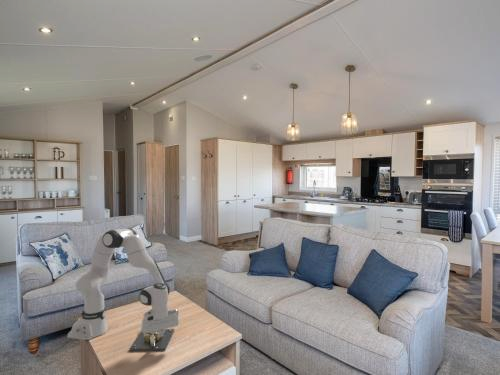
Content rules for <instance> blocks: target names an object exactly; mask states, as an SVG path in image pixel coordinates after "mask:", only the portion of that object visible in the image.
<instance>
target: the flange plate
mask: <svg viewBox="0 0 500 375" xmlns="http://www.w3.org/2000/svg"><path fill="white" fill-rule="evenodd" d="M161 331H162V330H161ZM149 333H150V336H151V335H155V336H156V331H154V332H149ZM174 333H175V329H174V328H166V329H165V332H164V334H163V337H162V338H161V339H160V340H158V341H156V342H155V346H153V347H151V346H150V342H149V343H148V342H145V341H144V334H143V333H142V330H141V331H140V333H139V334H138V335H137V337H136V338H135V340H134V341H133V342H132V344H131V346H130V347H129V352H140V351H141V352H143V351H144V352H146V351H148V352H149V351H153V352H154V351H155V352H157V351H166V350H167V348H168V346H169V344H170V342H171V339H172V337H173V335H174Z"/></svg>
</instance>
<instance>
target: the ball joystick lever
mask: <svg viewBox="0 0 500 375" xmlns="http://www.w3.org/2000/svg"><path fill="white" fill-rule="evenodd" d="M161 332H162V331H161V330H159V332H158V333H161ZM161 338H162V337H159V338H158V334H157V333H156V336H155V335H151V336H150V333H145V334H144V341H145V342H148V343H149V342H150V346H151V347H153V346H155V342H156V341H158V340H160V339H161Z"/></svg>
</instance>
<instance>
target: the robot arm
mask: <svg viewBox="0 0 500 375" xmlns="http://www.w3.org/2000/svg"><path fill="white" fill-rule="evenodd" d="M115 248H116V249H119V248H123V249H124V250H125V254H126V256H127V259H128V260H127V261H128V263H129V265H130V266H132V267H133V268H137V269H144V270H147V271H148V272H150V274H151V277H152V279H153V281H154V284H152V285H150V286H148V287H145V288H142V289H141V290H140V292H139V295H138V296H139V302H140V303H141V304H142V305H143V306H148V307H150V306H151V309H150V310H147V311H145V312H144V313H143V319H142V320H141V331H142V333H143V334H145V333H149V332H154V331H156V333H157V334H158V338H159V337H163V334H164V332H165V329H171V328H173V327H174V328H175V327H178V326H179V323H180V322H179V313H180V312H179V310H178V309H170V310H169V304H168V302H169V294H170V291H171V289H170V286H169V284H168V282H167V281H166V280H165V278H164V275H163V274H162V272H161V269H160V267H159V265H158V263H157V262H156V260H155V259H154V258H153V257H152V256H150V255H149V253H148V251H147V249H146V246H145V243H144V241H143V239H142V238H141V236H140V235H139V234H137V232H136V231H135V229H133V228H116V229H110V230H108V231H107V232H104V234H102V235H101V236H100V237H99V238H98V240H97V242H96V244H95V247H94V249H93V252H92V255H91V257H90V261H89V262H90V263H91V267H90V268H91V269H90V270H89V271H88V272H86V273H85V274H83V275H82V276H81V277H80V278H79V279H78V280H77V281H76V283H75V288H76V290H77V292H78V293H80V294H81V295H82V297H83V303H84V310H83V311H82V312H81V313H80V318H79V319H77V321H75V322H74V323H73V324H72V327H71V330H70V331H69V332H68V333H67V334H66V336H67V337H66V338H67V339H74V340H75V339H76V340H84V341H85V340H87V341H89V340H91V339H94V338H95V337H97V338H98V337H99V336H102V335H104V334H105V333H107V331H109V327H108V324H107V321H106V313H107V312H106V307H105V296H104V294H103V293H102V292H101V290H100V287H101V286H102V285H103V284H104V283H105V282H107V281H108V278H109V277H110V270H109V268H110V263H111V260H112V257H113V256H114V255H113V254H114V252H115ZM159 330H162V332H161V333H158V332H159Z"/></svg>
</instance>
